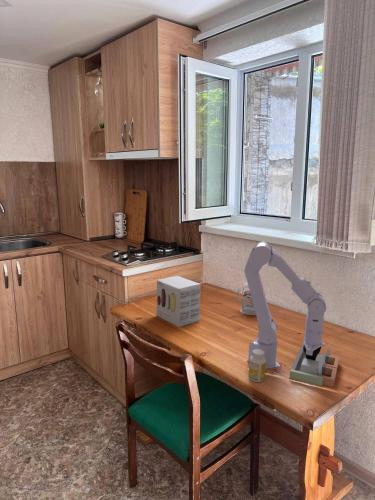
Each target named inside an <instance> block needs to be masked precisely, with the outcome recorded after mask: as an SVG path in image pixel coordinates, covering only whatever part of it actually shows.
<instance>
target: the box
mask: <svg viewBox="0 0 375 500" xmlns="http://www.w3.org/2000/svg"><path fill="white" fill-rule="evenodd" d="M303 346H304V343H303V344H301V346H300V349H299V351H298V353H297V355H296V357H295V359H294V361H293V364H292V365H291V368H290V369H289V380H292V381H296V382H300V383H304V384H308V385H312V386H315V387H319V388H323V385H324V386H328V387H332V388H334V386H335V381H336V378H337V377H336V376H337V373H338V368H339V361H340V357H339V356H335V355H331V349H326V352H325V354H322V353H319V354H318V355H317V357H316V361H319V366H318V373H317V375H312V374H308V373H304V372H301V364H302V362H303V359H304V358H305V359H306V355H305V352H304V350H303ZM322 374H323V375H322Z"/></svg>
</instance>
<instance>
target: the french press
mask: <svg viewBox="0 0 375 500" xmlns="http://www.w3.org/2000/svg"><path fill="white" fill-rule="evenodd" d="M245 288H248V289H249V286H248V283H247V281H246V282H244V283H243V286H242V287H240V288H239V289H238V290H237V293H236V294H237V295H236V297H237V300H238V301H240V302H241V309H240V310H239V312H240V313H241V314H244V315H248V316H249V315H250V316H255V315H256V312H255V308H254V305H253V301H252V297H251V294H250V290H245ZM241 290H243V295H242V300H241V299H240V298H239V292H240V291H241ZM256 316H257V315H256Z"/></svg>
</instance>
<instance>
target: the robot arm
mask: <svg viewBox="0 0 375 500" xmlns="http://www.w3.org/2000/svg"><path fill="white" fill-rule="evenodd" d="M266 264H268V265H267V266H268V267H271V268H272V267H274V268H276V269H278V271H279V272H280V273H281V274H282V275H283V276H284V278H286V279H287V280H288V281H289V283H291V291H292V292H293V293H295V294H296V296H297V297H298V298H299V300H301V301H302V303H303V304H306V306H307V313H306V317H305V328H304V329H305V330H304V337H303V341H302V343H303V344H304V346H303V350H304V352H305V355H306V359H310V360H314V361H316V357H317V355H318V354H320V352H321V349H322V347H325V346H326V343H325V342H323V341H322V340H323V331H324V330H323V329H324V322H325V319H324V318H325V317H324V315H325V313H326V311H327V305H326V302H325V299H324V297H323V295H322V294H321V292H319V291H316V289H315V288H314V287H313V286H312V285H311V284H312V282H311V281H310V280H309V279H306V278H305V277H301V276H300V277H299V276H298V275H297V273H296V271H294V270H293V268H292V267H291V265H289V263H288V262H287V261H286V260H285V259H284V257H283V256H282V255H281V254H280V253H279V252H278V251H277V249H275V248H272V245H271V244H270V243H268V242H267V241H259V242H258V243H256V244H255V245H254V247H253V248H252V250H251V252H250V253H249V255H248V258H247V261H246V264H245V266H244V275H245V278H246V282H247V283H248V286H249V288H248V289H249V290H248V291H250V294H251V296H250V297H251V298H252V301H253V305H254V308H255V312H256V318H257V320H256V321H257V329H258V332H257V336H256V339H255V340H254V341H251V342H250V343H249V345H248V346H249V347H248V358H247V359H246V360H247V362H248V363H250V357H251V356H252V351H253V350H254V349H260V350H263V351H264V352H265V356H264V357H265V359H266V368H265V370H266V369H270V368H277V367H281V366H282V365H280V364H279V363H278V362H277V352H278V341H279V340H278V338H277V337H278V336H277V330H278V324H277V322H276V321H275V320H274V318H273V316H272V313H271V311H270V308H269V304H268V302H267V301H268V300H267V297H266V293H265V291H264V287H263V283H262V279H261V275H260V271H261V269H263V267H264V266H265V265H266Z"/></svg>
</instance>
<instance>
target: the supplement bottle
mask: <svg viewBox="0 0 375 500" xmlns="http://www.w3.org/2000/svg"><path fill="white" fill-rule="evenodd" d="M264 356H265V352H264V351H263V350H260V349H254V350H253V351H252V356H251V357H250V363H249V362H248V363H249V366H248V368H249V369H248V378H249V380H250V381H251V382H255V383H260V382H264V381H265V377H266V369H267V368H266V359H265V357H264ZM265 368H266V369H265Z"/></svg>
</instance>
